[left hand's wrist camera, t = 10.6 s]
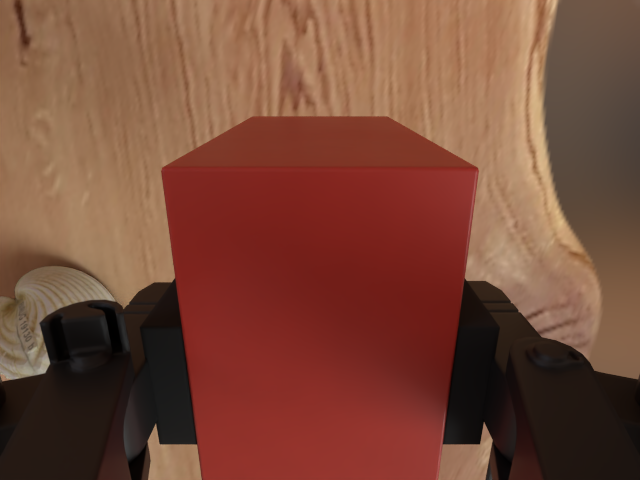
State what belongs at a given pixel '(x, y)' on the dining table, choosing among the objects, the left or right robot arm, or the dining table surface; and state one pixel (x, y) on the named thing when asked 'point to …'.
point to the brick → (319, 296)
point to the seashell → (39, 315)
